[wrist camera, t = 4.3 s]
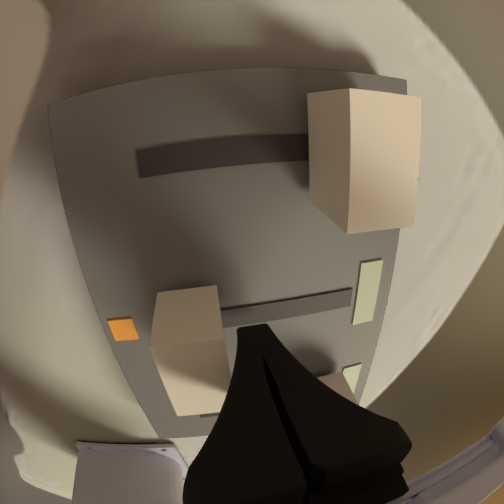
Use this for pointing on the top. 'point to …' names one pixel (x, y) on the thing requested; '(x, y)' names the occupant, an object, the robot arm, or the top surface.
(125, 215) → the breaker panel
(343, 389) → the block
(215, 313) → the breaker
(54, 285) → the top surface
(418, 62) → the top surface
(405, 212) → the block
